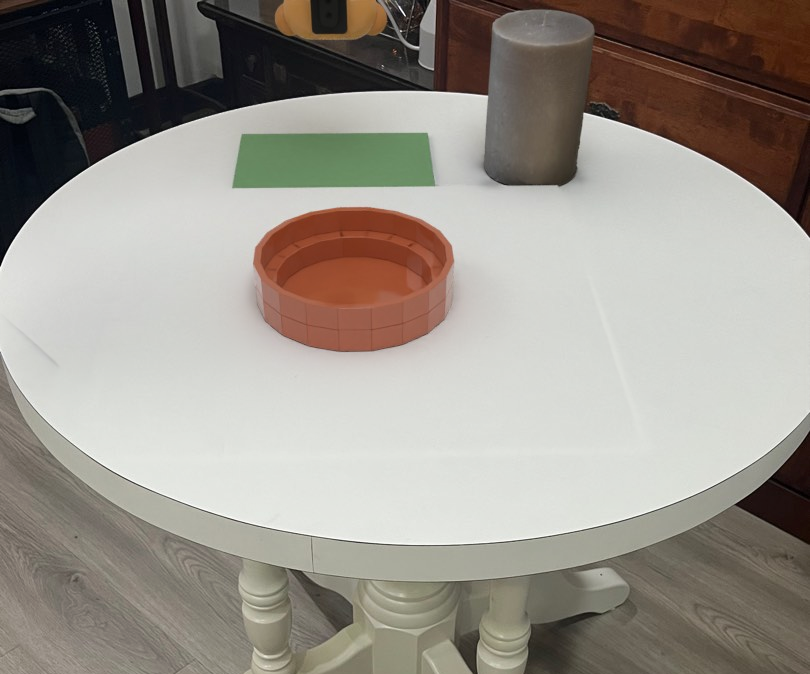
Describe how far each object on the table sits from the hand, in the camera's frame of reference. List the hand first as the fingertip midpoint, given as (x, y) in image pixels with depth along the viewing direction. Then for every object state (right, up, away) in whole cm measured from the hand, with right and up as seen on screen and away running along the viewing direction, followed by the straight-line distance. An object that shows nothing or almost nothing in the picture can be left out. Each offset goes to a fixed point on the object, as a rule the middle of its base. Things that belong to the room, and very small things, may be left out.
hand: (330, 19), depth 91 cm
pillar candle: (+20, -10, +11) cm, 24 cm away
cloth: (0, -9, +11) cm, 14 cm away
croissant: (0, -1, +1) cm, 2 cm away
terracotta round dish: (+3, -28, -7) cm, 29 cm away
